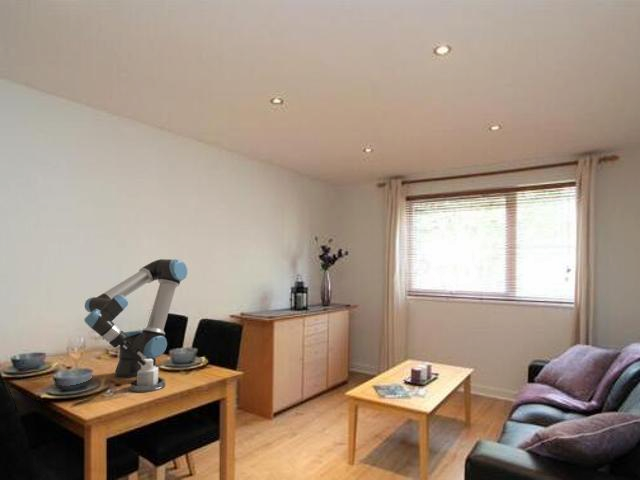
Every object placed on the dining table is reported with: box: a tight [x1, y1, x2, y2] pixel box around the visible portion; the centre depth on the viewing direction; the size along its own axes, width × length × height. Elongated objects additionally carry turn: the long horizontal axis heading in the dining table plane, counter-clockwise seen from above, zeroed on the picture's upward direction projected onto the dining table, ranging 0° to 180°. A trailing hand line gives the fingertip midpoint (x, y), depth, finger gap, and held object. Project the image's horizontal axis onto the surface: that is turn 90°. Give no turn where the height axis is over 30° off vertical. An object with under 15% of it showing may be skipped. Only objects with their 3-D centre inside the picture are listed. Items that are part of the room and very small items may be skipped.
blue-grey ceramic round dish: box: [129, 376, 166, 393], centre depth 191 cm, size 16×16×3 cm
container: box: [136, 357, 159, 386], centre depth 191 cm, size 8×8×13 cm
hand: (148, 365), depth 191 cm, fingers open, 13 cm apart
